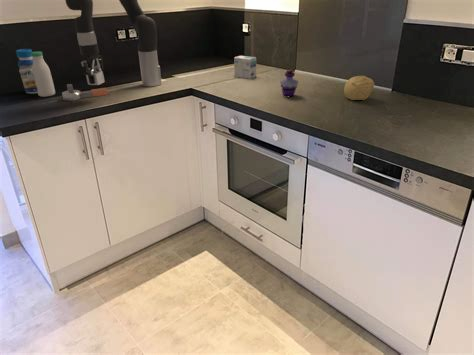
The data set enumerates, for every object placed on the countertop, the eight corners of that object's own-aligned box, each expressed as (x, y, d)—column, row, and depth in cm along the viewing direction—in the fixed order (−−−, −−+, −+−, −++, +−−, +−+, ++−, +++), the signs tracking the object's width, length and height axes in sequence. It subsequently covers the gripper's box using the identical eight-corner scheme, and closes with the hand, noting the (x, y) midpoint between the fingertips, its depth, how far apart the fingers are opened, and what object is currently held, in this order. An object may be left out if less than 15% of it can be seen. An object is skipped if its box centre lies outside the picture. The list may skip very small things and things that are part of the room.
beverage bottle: (47, 90, 191) (37, 49, 182) (33, 94, 185) (22, 52, 175) (35, 88, 194) (25, 47, 185) (21, 92, 188) (9, 50, 178)
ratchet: (105, 91, 188) (103, 78, 185) (109, 95, 182) (106, 82, 179) (62, 97, 180) (59, 83, 177) (64, 102, 174) (61, 88, 171)
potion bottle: (287, 92, 186) (288, 67, 180) (301, 95, 180) (303, 69, 175) (275, 95, 181) (276, 70, 175) (289, 99, 175) (291, 73, 169)
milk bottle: (59, 93, 187) (49, 51, 177) (47, 97, 180) (36, 54, 171) (46, 91, 189) (36, 50, 179) (34, 96, 183) (23, 53, 173)
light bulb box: (256, 76, 213) (256, 57, 208) (250, 79, 208) (250, 59, 203) (240, 74, 218) (240, 55, 213) (234, 76, 213) (233, 57, 208)
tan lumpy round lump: (356, 104, 168) (359, 80, 163) (338, 97, 177) (341, 74, 172) (375, 100, 173) (379, 77, 167) (356, 94, 182) (360, 71, 177)
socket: (94, 81, 176) (92, 70, 173) (104, 82, 174) (102, 71, 172) (88, 84, 171) (85, 73, 169) (98, 85, 170) (95, 73, 167)
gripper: (90, 39, 171) (98, 77, 179) (70, 45, 159) (79, 86, 167) (104, 40, 169) (112, 78, 177) (85, 46, 157) (94, 86, 165)
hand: (96, 81), depth 172 cm, fingers closed on socket, 5 cm apart
